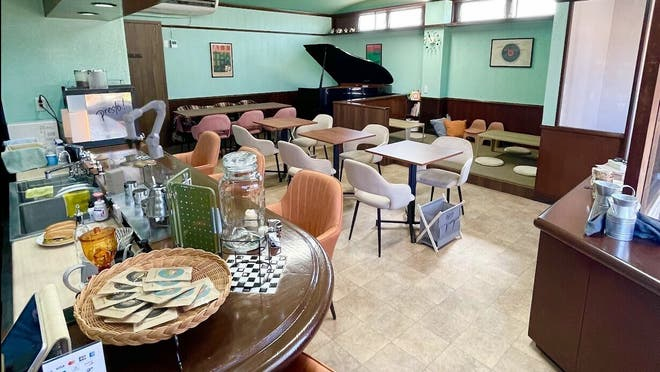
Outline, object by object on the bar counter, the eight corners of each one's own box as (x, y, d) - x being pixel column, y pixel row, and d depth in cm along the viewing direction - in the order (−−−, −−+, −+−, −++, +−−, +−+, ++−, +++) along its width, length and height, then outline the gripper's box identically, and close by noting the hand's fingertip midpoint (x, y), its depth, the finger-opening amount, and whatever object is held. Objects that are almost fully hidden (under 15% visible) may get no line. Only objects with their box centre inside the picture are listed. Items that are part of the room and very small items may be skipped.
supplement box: (121, 188, 237) (116, 168, 233) (128, 190, 233) (123, 169, 229) (108, 192, 231) (103, 171, 227) (115, 194, 227) (110, 173, 223)
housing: (133, 160, 299) (132, 154, 298) (137, 160, 298) (136, 154, 296) (125, 162, 294) (123, 156, 292) (129, 162, 292) (128, 156, 290)
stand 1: (134, 160, 303) (133, 158, 303) (143, 161, 299) (143, 159, 299) (120, 164, 293) (119, 162, 293) (129, 165, 289) (129, 163, 288)
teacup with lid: (96, 173, 275) (92, 156, 271) (97, 170, 282) (93, 153, 279) (116, 170, 279) (112, 153, 276) (116, 167, 287) (112, 151, 284)
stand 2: (147, 162, 297) (146, 160, 297) (156, 163, 293) (156, 160, 293) (133, 166, 287) (132, 164, 287) (143, 167, 283) (142, 165, 282)
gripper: (119, 131, 291) (123, 149, 296) (133, 132, 285) (136, 150, 289) (127, 129, 297) (131, 147, 302) (141, 130, 291) (145, 148, 295)
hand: (134, 149), depth 296 cm, fingers open, 7 cm apart
